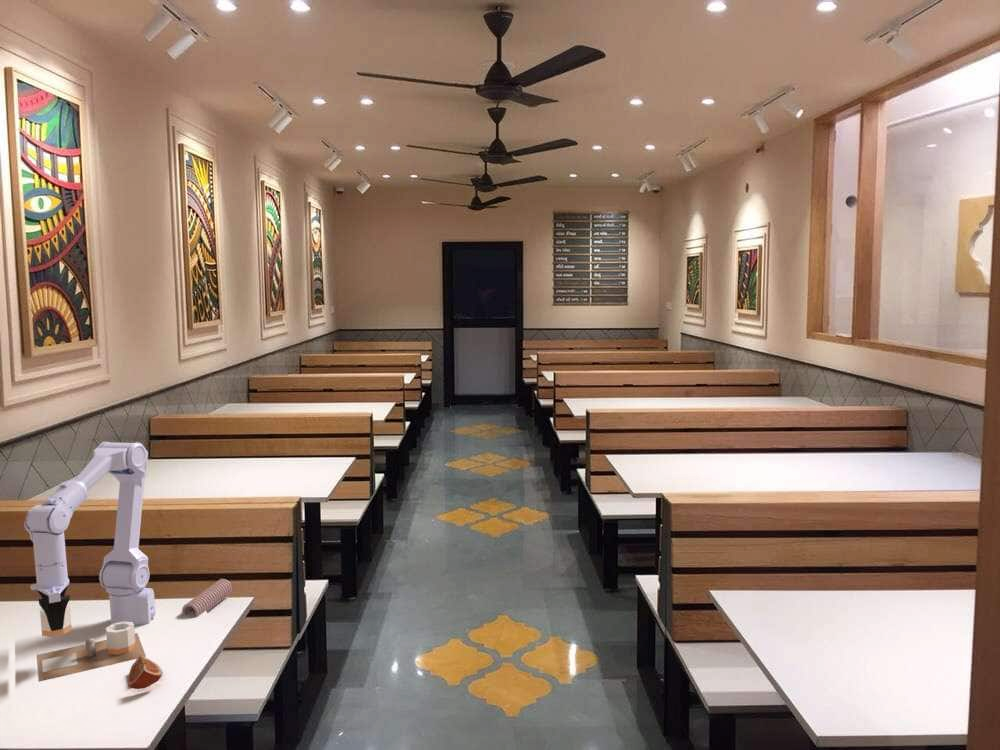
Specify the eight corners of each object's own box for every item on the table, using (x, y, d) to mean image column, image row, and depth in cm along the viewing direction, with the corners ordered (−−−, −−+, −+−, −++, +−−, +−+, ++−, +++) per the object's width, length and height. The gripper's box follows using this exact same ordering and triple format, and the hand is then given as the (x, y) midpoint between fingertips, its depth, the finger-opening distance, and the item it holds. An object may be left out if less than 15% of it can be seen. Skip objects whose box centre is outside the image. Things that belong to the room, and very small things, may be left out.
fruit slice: (126, 680, 167) (124, 657, 166) (161, 672, 170) (159, 649, 169) (128, 698, 160) (126, 674, 159) (165, 690, 163) (163, 666, 162)
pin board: (137, 639, 186) (136, 616, 186) (146, 663, 174) (144, 639, 174) (37, 661, 176) (35, 637, 176) (39, 688, 164) (37, 663, 164)
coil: (197, 606, 194) (234, 579, 212) (179, 603, 195) (217, 576, 212) (197, 624, 195) (233, 596, 212) (179, 622, 195) (216, 593, 213)
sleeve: (41, 629, 172) (39, 606, 172) (70, 623, 175) (68, 600, 174) (42, 638, 168) (40, 615, 167) (72, 632, 170) (70, 609, 170)
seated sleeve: (106, 647, 179) (105, 625, 178) (133, 641, 182) (132, 619, 181) (109, 656, 174) (107, 634, 174) (136, 650, 177) (135, 628, 177)
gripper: (28, 555, 174) (33, 616, 175) (29, 576, 161) (35, 641, 163) (65, 549, 177) (70, 609, 179) (69, 569, 165) (74, 633, 166)
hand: (56, 624), depth 171 cm, fingers closed on sleeve, 5 cm apart
